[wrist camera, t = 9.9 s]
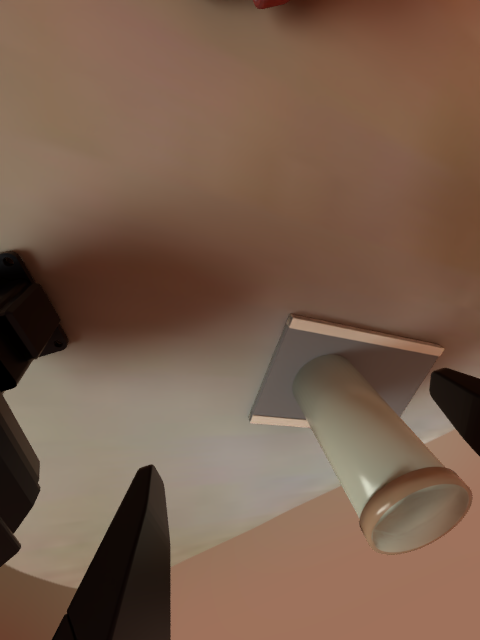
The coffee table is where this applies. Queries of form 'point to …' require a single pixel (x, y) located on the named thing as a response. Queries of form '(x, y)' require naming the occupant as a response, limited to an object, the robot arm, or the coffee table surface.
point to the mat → (358, 348)
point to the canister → (379, 459)
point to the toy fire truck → (268, 3)
